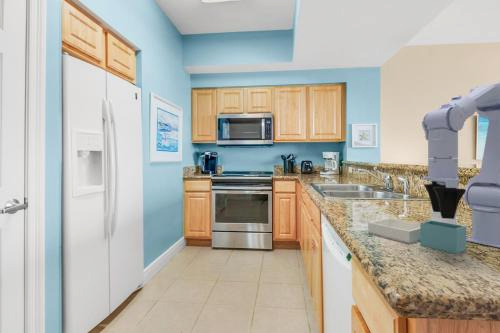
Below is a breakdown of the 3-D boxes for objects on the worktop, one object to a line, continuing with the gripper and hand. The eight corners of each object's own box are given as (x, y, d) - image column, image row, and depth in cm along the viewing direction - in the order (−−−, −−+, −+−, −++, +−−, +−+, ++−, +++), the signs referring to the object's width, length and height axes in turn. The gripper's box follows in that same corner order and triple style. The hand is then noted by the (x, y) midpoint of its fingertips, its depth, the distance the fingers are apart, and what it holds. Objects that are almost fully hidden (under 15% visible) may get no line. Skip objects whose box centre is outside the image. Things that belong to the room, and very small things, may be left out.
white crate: (388, 228, 84) (388, 218, 84) (429, 237, 74) (429, 225, 74) (368, 233, 79) (368, 222, 79) (409, 244, 68) (409, 231, 68)
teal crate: (430, 241, 70) (430, 220, 70) (466, 249, 63) (466, 226, 63) (420, 245, 68) (420, 222, 67) (456, 254, 61) (456, 229, 61)
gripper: (416, 159, 69) (417, 208, 69) (430, 158, 55) (430, 220, 56) (448, 158, 66) (448, 210, 66) (470, 158, 53) (470, 222, 53)
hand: (442, 214), depth 61 cm, fingers open, 7 cm apart
